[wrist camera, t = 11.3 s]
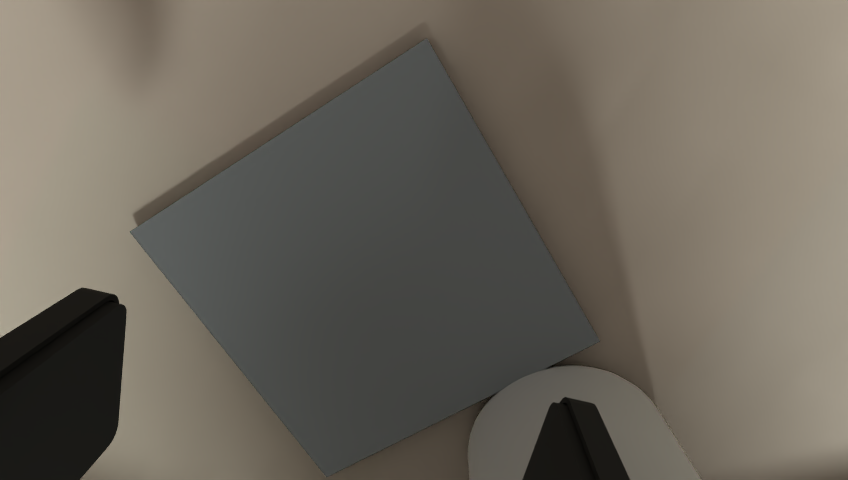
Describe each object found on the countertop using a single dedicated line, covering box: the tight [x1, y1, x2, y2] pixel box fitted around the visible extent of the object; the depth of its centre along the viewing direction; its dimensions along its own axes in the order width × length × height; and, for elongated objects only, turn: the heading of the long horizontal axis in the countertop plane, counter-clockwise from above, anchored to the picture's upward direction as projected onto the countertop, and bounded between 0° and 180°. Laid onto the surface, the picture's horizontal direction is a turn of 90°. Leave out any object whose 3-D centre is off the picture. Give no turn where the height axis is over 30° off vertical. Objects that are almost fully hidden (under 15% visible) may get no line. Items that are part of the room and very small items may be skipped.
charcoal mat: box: [130, 38, 600, 477], centre depth 16 cm, size 10×10×1 cm
